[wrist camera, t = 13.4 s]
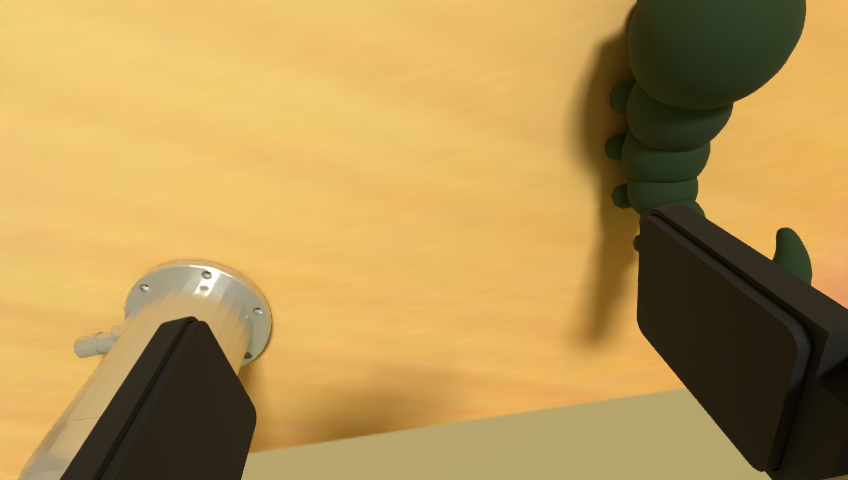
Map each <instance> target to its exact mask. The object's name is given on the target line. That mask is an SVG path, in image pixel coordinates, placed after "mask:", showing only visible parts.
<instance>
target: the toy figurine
mask: <svg viewBox="0 0 848 480" xmlns="http://www.w3.org/2000/svg"><path fill="white" fill-rule="evenodd" d="M805 15H806V0H637V4H636V7H635V9H634V12H633V15H632V18H631V21H630V26H629V31H628V39H627V52H628V60H629V65H630V68H631V70H632V73H633V75H634V77H635V79H636V80H634V79H627V80H623V81H619V82H617V83H616V84H615V85H614V86H613V88H612V90H611V92H610V94H609V96H610V103H611V108H612V109H614V110H616V111H617V112H620V113H623V114H626V116H627V123H628V126H629V128H630V130H629V132H628V133H627V136H626V137H625V136H624V135H621V136H615V137H613V138H611V139H610V140H608V142H607V144H606V147H605V150H606V153H607V155H608V158H610V159H613V160H615V161H617V160H621V159H622V162H623V165H624V168H625V171H626V173H627V174H628V175H629V176H630V177H629V180H628V185H627V184H623V185H620V186H617V187H616V188H615V189H614V191H613V193H612V195H611V196H612V200H613V203H614V205H616V206H618V207H620V208H623V209H625V208H630V207H633V208H634V210H635V211H636V212H637V213H639V214H640V215H641V216H640V221H639V224H641V220H642V219H643V218H645V217H647V215H648V212H649V211H650V210H651V209H654V208H658V207H663V206H667V205H671V204H675V203H682V204H684V205H686V206H687V207H689V208H691V209H692V210H694V211H695V212H697V213H698V214H700V215H701V216H703V217H705V214H704V211H703V210H702V208H701V207H700V206H699V204H698V203H697V202H695V200H696V197H697V194H698V181H697V176H698V175H699V174H700V173H701V172H702V170H703V168H704V167H705V165H706V163H707V160H708V157H709V154H710V141H711V140H712V139H713V138H715V137H716V135H717V134H718V133H719V132H720V131H721V130H722V129H723V127H724V126H725V125H726V123H727V122H728V120H729V118H730V116H731V112H732V108H733V103H734V102H735V101H738V100H740V99H742V98H744V97H746V96H748V95H750V94H751V93H753V92H755V91H756V90H758V89H759V88H760V87H762V86H763V85H764V84H765V83H767V82H768V81H769V80H770V79H771V78H772V77H773V76H774V75H775V74H777V73H778V72H779V70H780V69H781V68H782V67H783V65H784V64H785V63H786V61H787V60H788V58H789V56H790V55H791V53H792V51H793V50H794V48H795V46H796V44H797V43H798V41H799V39H800V37H801V34H802V30H803V27H804V22H805ZM705 218H706V217H705ZM639 244H640V235H637V236H636V237H635V239H634V241H633V245H634V248H635V250H636V251H638V252H639ZM772 261H773V262H775V263H776V264H778V265H779V266H781V267H783V268H784V269H786V270H787V271H789V272H790V273H792V274H793V275H795V276H797V277H798V278H800V279H801V280H803V281H804V282H806V283H807V284H809V285H811V279H812V268H811V262H810V258H809V255H808V253H807V250H806V248H805V246H804V245H803V243H802V241H801V239H800V238H799V236H798V235H797V234H796V233H795V232H794V231H793V230H792V229H790V228H781V229H779V230H778V231H777V234H776V252H775V255H774V258H773V260H772Z"/></svg>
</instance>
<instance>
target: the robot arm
mask: <svg viewBox="0 0 848 480" xmlns="http://www.w3.org/2000/svg"><path fill="white" fill-rule="evenodd" d="M124 312H125V321H124V322H123V324H122V325H117V326H114V327H113V328H112V329H111V330H110V331H109V332H104V333H103V332H100V333H95V334H91V335H86V336H82V337H78V339H77V340H76V341H75V344H74V350H75V353H76V354H77V356H78V357H80V358H87V357H92V356H97V355H101V354H105V353H106V352H108V353H107V354H106V356H105V357H104V358H103V360H102V361H101V362H100V364H99V365H98V366H97V368H96V369H95V370H94V372H93V373H92V374H91V376H90V377H89V378H88V380H87V381H86V382H85V384H84V385H83V386H82V388H81V389H80V390H79V392H78V393H77V394H76V396H75V397H74V398H73V400H72V401H71V402H70V404H69V405H68V406H67V408H66V409H65V410H64V412H63V413H62V414H61V416H60V417H59V418H58V420H57V421H56V422H55V424H54V425H53V426H52V428H51V429H50V431H49V432H48V433H47V435H46V436H45V437H44V439H43V440H42V441H41V443H40V444H39V445H38V447H37V448H36V449H35V451H34V452H33V454H32V455H31V456H30V458H29V459H28V461H27V462H26V464H25V465H24V467H23V469H22V471H21V473H20V475H19V477H18V479H17V480H241V477H242V473H243V470H244V466H245V462H246V459H247V455H248V451H249V448H250V444H251V440H252V437H253V433H254V429H255V425H256V411H255V407H254V405H253V403H252V402H251V400H250V398H249V396H248V395H247V393H246V391H245V389H244V387H243V386H242V384H241V382H240V380H239V379H238V377H237V375H238V373H239V370H240V367H242V366H244V365H246V364H248V363H249V362H251V361H252V360H253V359H255V358H256V357H257V356H258V355H259V354H260V353H261V352H262V350H263V349H264V347H265V345H266V343H267V342H268V338H269V335H270V332H271V325H272V318H271V311H270V309H269V306H268V303H267V301H266V299H265V298H264V296H263V295H262V293H261V292H260V291H259V290H258V289H257V287H256V286H255V285H254V284H253V283H252V282H250V281H249V280H248V279H246V278H245V277H244V276H242V275H241V274H239V273H237V272H235V271H233V270H231V269H229V268H227V267H224V266H221V265H218V264H215V263H210V262H205V261H197V260H183V261H175V262H170V263H166V264H163V265H160V266H158V267H156V268H154V269H152V270H150V271H148V272H147V273H146V274H145V275H144V276H142V277H141V278H140V279H139V280H138V281H137V283H136V284H135V285H134V286H133V287H132V289H131V291H130V292H129V294H128V296H127V298H126V303H125V308H124ZM637 322H638V326H639V328H640V330H641V332H642V334H643V335H644V336H645V338H646V339H647V340H648V341H649V342H650V344H651V345H652V346H653V347H654V348H655V350H656V351H657V352H658V353H659V355H660V356H661V357H662V358H663V359H664V361H665V362H666V363H667V364H668V365H669V367H670V368H671V369H672V370H673V372H674V373H675V374H676V375H677V376H678V378H679V379H680V380H681V381H682V382H683V384H684V385H685V386H686V387H687V389H688V390H689V391H690V392H691V393H692V395H693V396H694V397H695V398H696V399H697V401H698V402H699V403H700V404H701V405H702V407H703V408H704V409H705V410H706V412H707V413H708V414H709V415H710V416H711V418H712V419H713V420H714V421H715V423H716V424H717V425H718V426H719V427H720V429H721V430H722V431H723V432H724V433H725V435H726V436H727V437H728V438H729V439H730V441H731V442H732V443H733V444H734V445H735V447H736V448H737V449H738V450H739V451H740V453H741V454H742V455H743V456H744V458H745V459H746V460H747V461H748V462H749V464H750V465H751V466H752V467H753V468H755V469H756V470H758V471H760V472H763V471H765V472H766V473H767V474H768V475H769V477H770V478H771V479H772V480H848V309H846V308H845V307H843V306H842V305H840V304H839V303H837V302H836V301H834V300H832V299H831V298H829V297H828V296H826V295H825V294H823V293H821V292H820V291H818V290H817V289H815V288H814V287H812V286H811V285H809V284H807V283H806V282H804V281H803V280H801V279H800V278H798V277H797V276H795V275H793V274H792V273H790V272H789V271H787V270H786V269H784V268H783V267H781V266H779V265H778V264H776V263H775V262H773V261H772V260H770V259H768V258H767V257H765V256H764V255H762V254H761V253H759V252H758V251H756V250H754V249H753V248H751V247H750V246H748V245H747V244H745V243H744V242H742V241H740V240H739V239H737V238H736V237H734V236H733V235H731V234H730V233H728V232H726V231H725V230H723V229H722V228H720V227H719V226H717V225H715V224H714V223H712V222H711V221H709V220H708V219H706V218H705V217H703V216H701V215H700V214H698V213H697V212H695V211H694V210H692V209H691V208H689V207H687V206H686V205H684V204H682V203H675V204H671V205H667V206H663V207H658V208H654V209H651V210H650V211H649V212H648V215H647V217H645V218H643V219H642V220H641V224H640V244H639V271H638V299H637Z"/></svg>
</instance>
